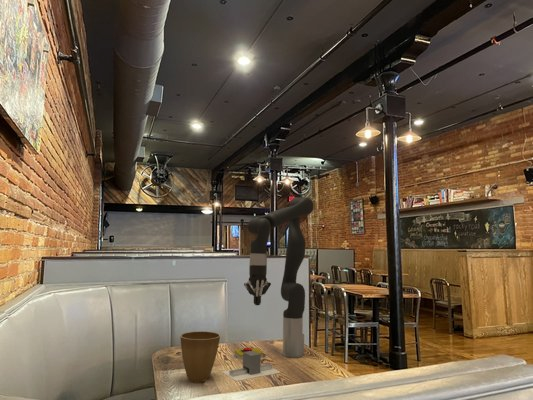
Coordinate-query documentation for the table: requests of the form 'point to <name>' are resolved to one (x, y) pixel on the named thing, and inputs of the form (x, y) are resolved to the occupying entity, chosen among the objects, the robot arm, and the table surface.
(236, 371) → the rail
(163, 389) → the table surface
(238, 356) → the emergency button
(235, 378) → the mounting plate
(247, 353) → the block
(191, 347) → the plant pot
